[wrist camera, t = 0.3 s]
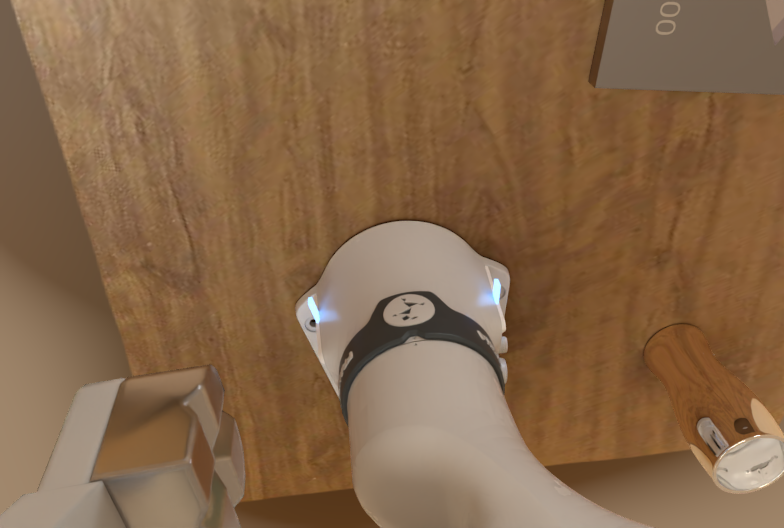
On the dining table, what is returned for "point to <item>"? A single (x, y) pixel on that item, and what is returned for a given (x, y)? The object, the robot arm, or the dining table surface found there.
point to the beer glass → (716, 412)
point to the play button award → (691, 46)
